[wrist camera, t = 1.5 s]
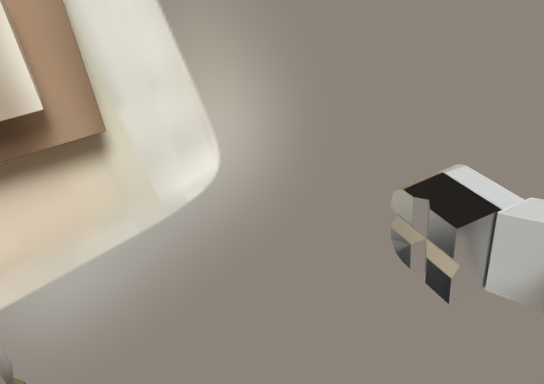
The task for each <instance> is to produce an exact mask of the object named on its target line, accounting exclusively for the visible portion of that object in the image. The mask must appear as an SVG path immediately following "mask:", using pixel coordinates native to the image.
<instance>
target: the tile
mask: <svg viewBox="0 0 544 384" xmlns="http://www.w3.org/2000/svg"><path fill="white" fill-rule="evenodd" d="M40 110H43V105H42V102H41V98H40V94H39V91H38V88H37V86H36V83H35V81H34V78H33V76H32V73H31V71H30V68H29V66H28V63H27V61H26V58H25V55H24V53H23V50H22V48H21V45H20V43H19V40H18V38H17V35H16V33H15V30H14V28H13V25H12V23H11V20H10V18H9V15H8V13H7V10H6V8H5V5H4V3H3V0H0V121H3V120H7V119H10V118H14V117H18V116H21V115H25V114H29V113H32V112H36V111H40Z"/></svg>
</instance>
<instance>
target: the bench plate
mask: <svg viewBox="0 0 544 384" xmlns="http://www.w3.org/2000/svg"><path fill="white" fill-rule="evenodd" d="M3 3H4V5H5V8H6V10H7V13H8V15H9V18H10V20H11V23H12V25H13V28H14V30H15V33H16V35H17V38H18V40H19V43H20V45H21V48H22V50H23V53H24V55H25V58H26V61H27V63H28V66H29V68H30V71H31V73H32V76H33V78H34V81H35V83H36V86H37V88H38V91H39V94H40V98H41V102H42V105H43V110H40V111H36V112H32V113H29V114H25V115H21V116H18V117H14V118H10V119H7V120H3V121H0V162H2V161H6V160H9V159H13V158H16V157H19V156H23V155H26V154H30V153H33V152H36V151H40V150H43V149H46V148H50V147H53V146H57V145H60V144H63V143H67V142H70V141H73V140H77V139H80V138H84V137H87V136H90V135H94V134H97V133H100V132H104V131H106V129H105V126H104V123H103V120H102V117H101V114H100V111H99V108H98V105H97V102H96V99H95V96H94V93H93V90H92V87H91V84H90V81H89V78H88V75H87V72H86V69H85V66H84V63H83V60H82V57H81V54H80V51H79V48H78V45H77V42H76V39H75V36H74V33H73V30H72V27H71V24H70V21H69V18H68V15H67V12H66V9H65V6H64V3H63V0H3Z"/></svg>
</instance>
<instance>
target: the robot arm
mask: <svg viewBox="0 0 544 384" xmlns="http://www.w3.org/2000/svg"><path fill="white" fill-rule="evenodd" d="M391 209H392V210H393V211H394V212H395V213H396V214H397V216H396V218H395V220H394V221H393V224H392V225H391V241H392V244H393V246H394V249H395V252H396V253H397V255H398V256H399V258H400V259H401V261H402V262H403V263H404V264H405V265H406V266H407V267H408V268H409V269H412V270H415V271H419V272H422V273H424V276H425V283H426V284H427V285H428V286H429V287H430V288H431V289H432V290H434V291H435V292H436V293H437V294H438V295H439V296H440V297H441V298H442V299H443V300H444V301H446V302H447V303H448V304H451V303H453V302H455V301H457V300H460V299H462V298H464V297H466V296H468V295H470V294H473V293H475V292H477V291H479V290H481V289H483V288H485V290H486V291H489V292H491V293H494V294H497V295H499V296H502V297H504V298H507V299H510V300H512V301H515V302H518V303H520V304H523V305H526V306H528V307H531V308H533V309H536V310H539V311H542V312H544V200H542V199H536V198H529V199H527V200H524V199H522V198H520V197H519V196H517V195H515V194H514V193H512V192H510V191H508V190H507V189H505V188H503V187H502V186H500V185H498V184H496V183H495V182H493V181H491V180H490V179H488V178H486V177H484V176H483V175H481V174H479V173H478V172H476V171H474V170H472V169H471V168H469V167H467V166H465V165H459V164H457V165H454V166H452V167H449V168H447V169H445V170H442V171H440V172H438V173H436V174H434V175H431V176H429V177H427V178H424V179H422V180H419V181H417V182H414V183H412V184H409V185H407V186H404V187H402V188H400V189H397V190H395V191H394V193H393V195H392V197H391ZM0 384H25V382H24V381H22V380H19V379H15V378H13V365H12V362H11V360H10V359H9V357H8V356H7V355H6V353H5V352H4V350H3V349H0Z"/></svg>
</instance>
